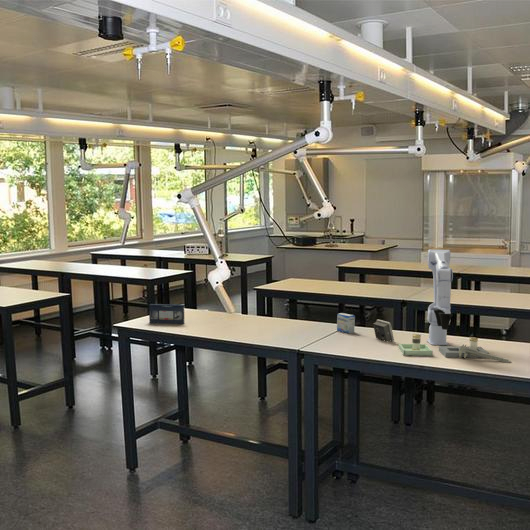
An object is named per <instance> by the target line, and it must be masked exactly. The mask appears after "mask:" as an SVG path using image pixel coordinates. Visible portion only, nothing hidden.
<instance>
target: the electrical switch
mask: <svg viewBox="0 0 530 530" xmlns="http://www.w3.org/2000/svg"><path fill="white" fill-rule="evenodd" d="M372 324H373V325H372V326H373V330H374V336H375V339H376V338H378V339H377V340H379V339H382V340H381V341H383V340H385V341H384V342H386V341H388V342H394V341H395V339H394V333H393V328H392V324H391V322H389V321H385V320H382V319H376V321H375V322H373V323H372ZM390 340H391V341H390Z"/></svg>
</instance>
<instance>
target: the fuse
mask: <svg viewBox="0 0 530 530" xmlns="http://www.w3.org/2000/svg"><path fill="white" fill-rule="evenodd" d="M478 341H479V337H471V336H469V344H468V345H469V346H468V347H469V348H471V349H475V350H477V347H478Z"/></svg>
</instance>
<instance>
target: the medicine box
mask: <svg viewBox="0 0 530 530" xmlns="http://www.w3.org/2000/svg"><path fill="white" fill-rule="evenodd" d="M336 317H337V318H336V331H337V332H340V333H347V334H353V333H355V326H356V325H355V320H356V316H355V315H354V314H348V313H344V312H340V313H337V316H336Z"/></svg>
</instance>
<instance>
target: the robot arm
mask: <svg viewBox="0 0 530 530" xmlns="http://www.w3.org/2000/svg"><path fill="white" fill-rule="evenodd" d="M450 261H451V250H450V249H428V250H427V266H428V269H429V270H431V271H432V276H433V278H432V279H433V281H432V282H433V303H431V304H429V306H428V307H427V322H428V323H429V324H430V325H429V328H428V338H426V341H427V342H428V343H429V344H430V345H432V346H449V345H450V344H449V342H447V335H448V334H447V333H448V332H447V331H448V329H449V326H450V323H451V320H452V318H453V316H454V314H453V313H452V312H451V308H452V307H451V295H452V294H451V293H452V292H451V291H452V283H453V278H454V274H453V273H454V272H453V268H450Z"/></svg>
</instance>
